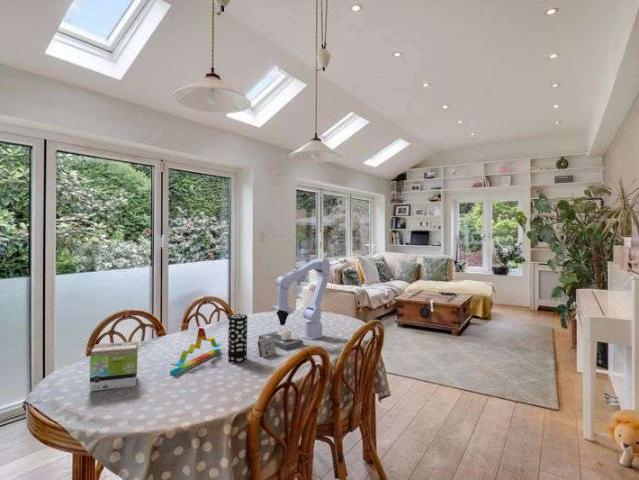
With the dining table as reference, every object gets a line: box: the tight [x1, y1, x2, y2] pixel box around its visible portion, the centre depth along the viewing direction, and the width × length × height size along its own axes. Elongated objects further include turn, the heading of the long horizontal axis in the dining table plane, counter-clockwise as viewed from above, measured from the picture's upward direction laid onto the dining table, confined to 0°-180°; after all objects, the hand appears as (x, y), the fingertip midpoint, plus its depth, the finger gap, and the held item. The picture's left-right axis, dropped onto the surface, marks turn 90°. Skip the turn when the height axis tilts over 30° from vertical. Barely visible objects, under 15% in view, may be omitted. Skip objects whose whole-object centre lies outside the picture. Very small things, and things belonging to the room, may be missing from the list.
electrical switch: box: [257, 336, 277, 358], centre depth 175 cm, size 8×5×8 cm, turn 141°
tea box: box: [89, 340, 139, 393], centre depth 139 cm, size 15×10×15 cm, turn 114°
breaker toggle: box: [280, 330, 292, 340], centre depth 191 cm, size 4×3×4 cm
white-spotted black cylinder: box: [227, 313, 248, 364], centre depth 167 cm, size 8×8×20 cm
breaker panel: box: [258, 331, 304, 351], centre depth 194 cm, size 12×22×3 cm, turn 46°
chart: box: [169, 327, 222, 377], centre depth 163 cm, size 30×3×15 cm, turn 160°
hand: (282, 324), depth 194 cm, fingers closed
